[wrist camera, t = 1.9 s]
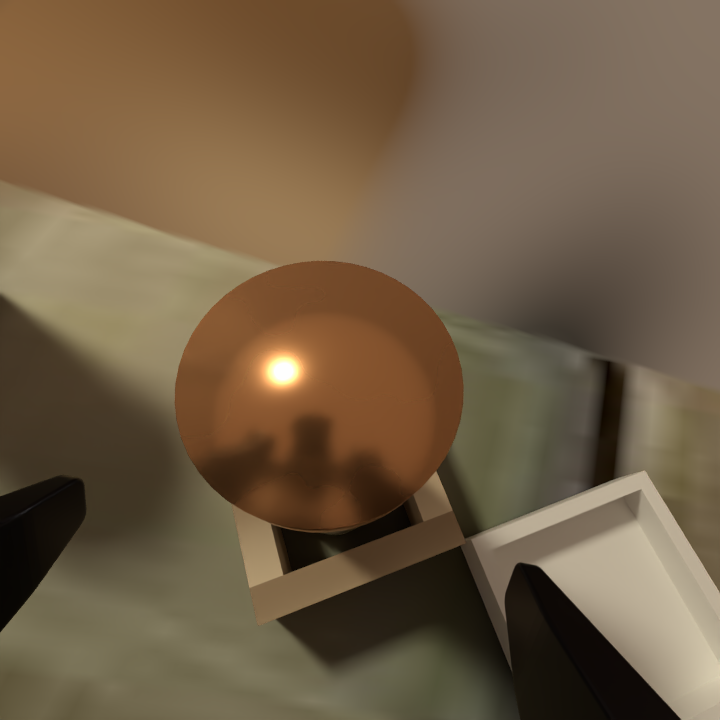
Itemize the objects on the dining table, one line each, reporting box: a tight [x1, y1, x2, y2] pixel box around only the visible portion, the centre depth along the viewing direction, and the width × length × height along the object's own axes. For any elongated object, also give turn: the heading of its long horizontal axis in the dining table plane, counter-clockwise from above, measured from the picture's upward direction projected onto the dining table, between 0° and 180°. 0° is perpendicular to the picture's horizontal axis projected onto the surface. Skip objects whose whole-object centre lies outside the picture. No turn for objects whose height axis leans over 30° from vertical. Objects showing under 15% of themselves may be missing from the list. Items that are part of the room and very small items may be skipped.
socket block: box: [231, 471, 466, 626], centre depth 18 cm, size 8×8×3 cm
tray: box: [460, 471, 720, 720], centre depth 17 cm, size 8×8×2 cm
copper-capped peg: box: [175, 261, 463, 535], centre depth 13 cm, size 5×5×13 cm
